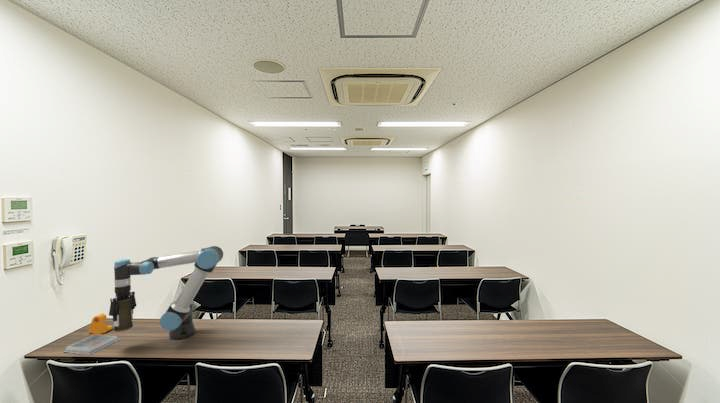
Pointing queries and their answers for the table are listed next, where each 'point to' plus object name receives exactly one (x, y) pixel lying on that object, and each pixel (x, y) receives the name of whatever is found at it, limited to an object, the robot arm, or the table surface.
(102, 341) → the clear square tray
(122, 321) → the container
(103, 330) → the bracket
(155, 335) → the table surface
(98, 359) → the table surface
